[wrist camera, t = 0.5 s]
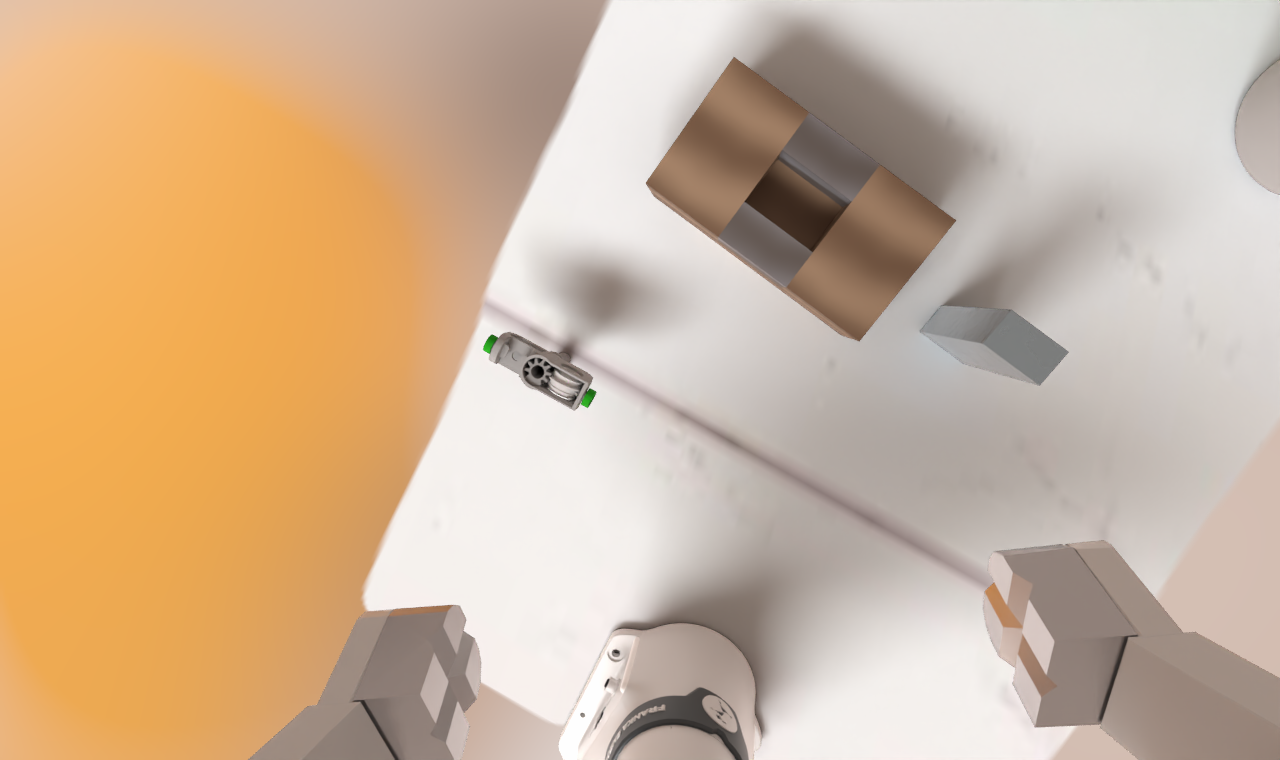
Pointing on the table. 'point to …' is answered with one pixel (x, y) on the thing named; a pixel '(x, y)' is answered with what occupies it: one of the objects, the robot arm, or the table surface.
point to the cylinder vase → (1261, 130)
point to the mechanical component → (542, 369)
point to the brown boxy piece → (797, 202)
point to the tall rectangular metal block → (995, 342)
